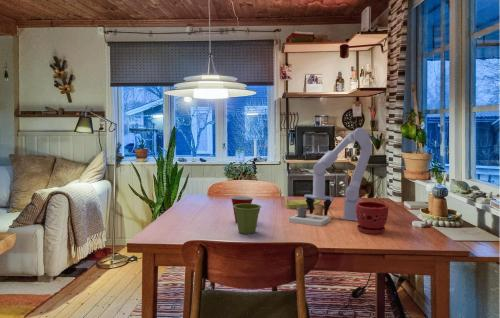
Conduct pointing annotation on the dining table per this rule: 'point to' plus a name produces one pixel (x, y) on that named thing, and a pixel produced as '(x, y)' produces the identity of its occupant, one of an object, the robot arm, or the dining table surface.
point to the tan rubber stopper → (318, 209)
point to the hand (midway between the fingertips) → (318, 214)
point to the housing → (310, 220)
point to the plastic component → (299, 203)
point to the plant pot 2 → (371, 217)
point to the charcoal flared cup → (302, 212)
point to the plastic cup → (240, 202)
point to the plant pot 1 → (247, 217)
